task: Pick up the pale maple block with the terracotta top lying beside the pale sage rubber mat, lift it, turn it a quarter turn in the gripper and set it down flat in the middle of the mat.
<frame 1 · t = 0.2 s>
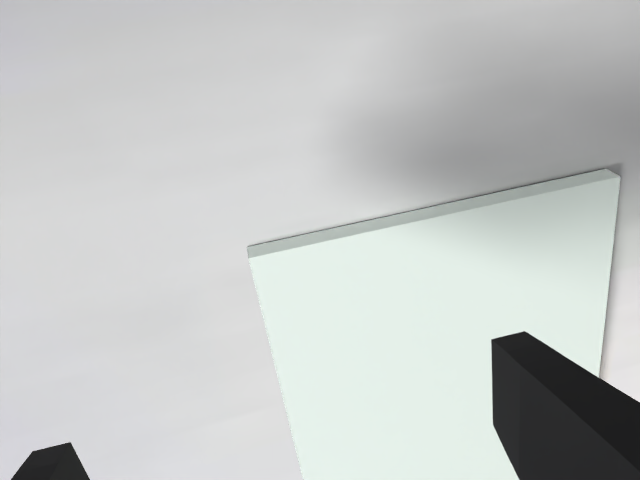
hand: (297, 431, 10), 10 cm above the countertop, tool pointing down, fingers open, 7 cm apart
mat: (442, 370, 23), on the countertop
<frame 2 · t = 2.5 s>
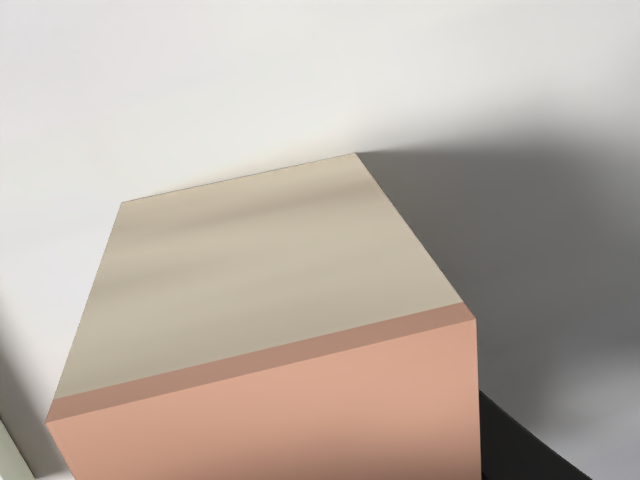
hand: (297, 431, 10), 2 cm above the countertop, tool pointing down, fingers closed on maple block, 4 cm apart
maple block: (284, 360, 11), on the countertop, touching gripper
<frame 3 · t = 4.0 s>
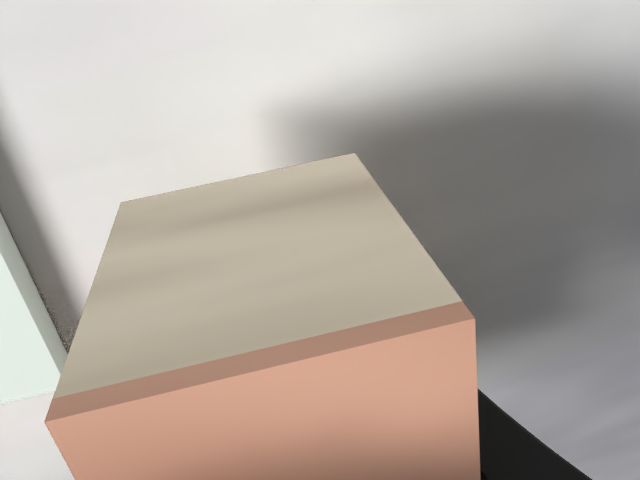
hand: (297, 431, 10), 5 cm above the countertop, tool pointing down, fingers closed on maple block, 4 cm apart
maple block: (283, 359, 11), point 3 cm above the countertop, touching gripper
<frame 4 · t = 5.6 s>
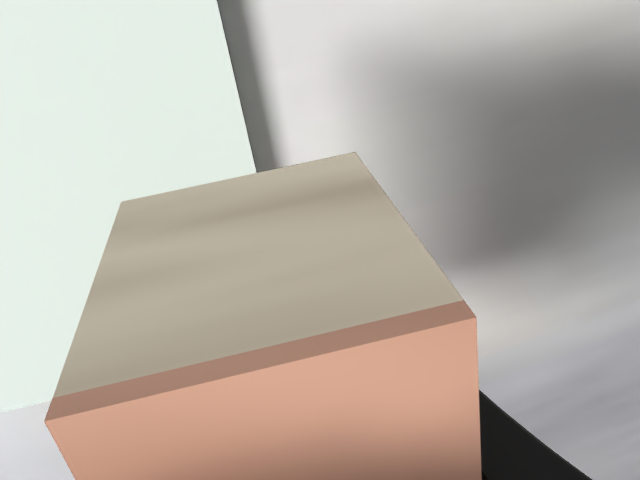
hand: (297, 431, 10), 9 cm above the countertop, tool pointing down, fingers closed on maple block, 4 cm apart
maple block: (284, 359, 11), point 7 cm above the countertop, touching gripper
mat: (10, 166, 16), on the countertop
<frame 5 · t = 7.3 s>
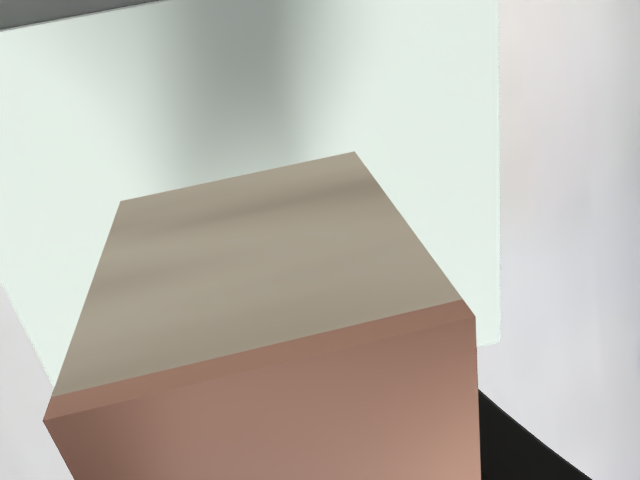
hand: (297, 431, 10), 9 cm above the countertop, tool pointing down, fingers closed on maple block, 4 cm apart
maple block: (283, 358, 11), point 7 cm above the countertop, touching gripper
mat: (257, 218, 18), on the countertop
when the fingers open (4 cm above the countertop, at t = 8.8 s): maple block drops 1 cm, resting on mat.
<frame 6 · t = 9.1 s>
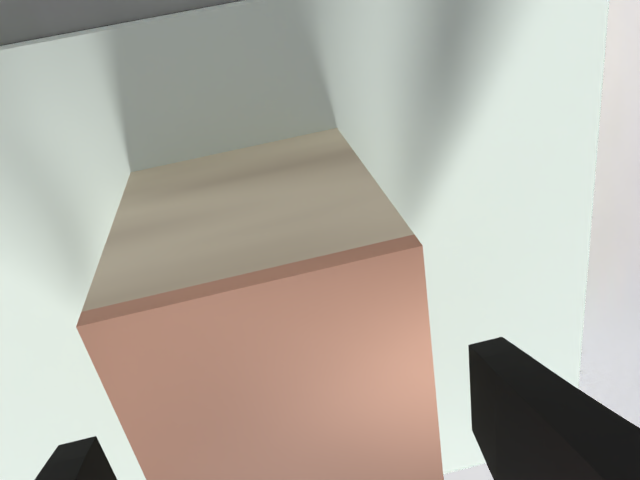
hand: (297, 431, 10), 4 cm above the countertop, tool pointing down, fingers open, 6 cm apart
maple block: (276, 318, 13), point 1 cm above the countertop, touching mat
mat: (273, 299, 13), on the countertop
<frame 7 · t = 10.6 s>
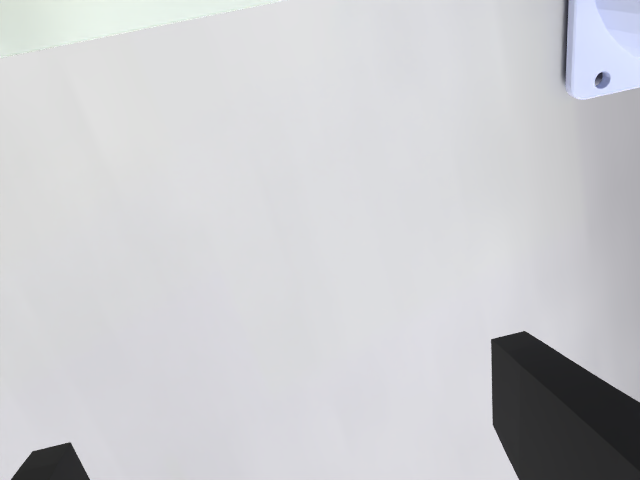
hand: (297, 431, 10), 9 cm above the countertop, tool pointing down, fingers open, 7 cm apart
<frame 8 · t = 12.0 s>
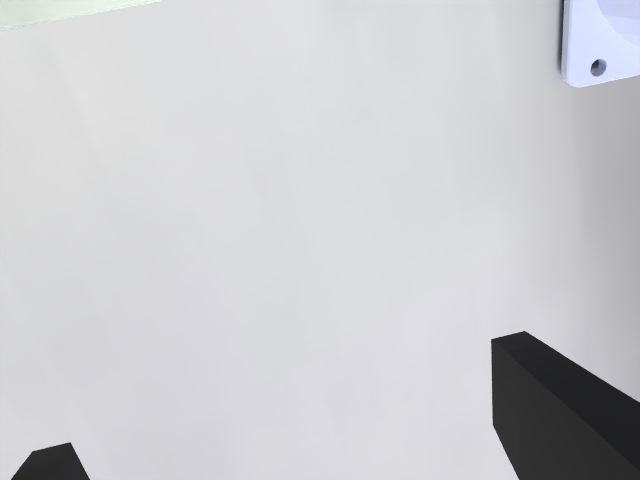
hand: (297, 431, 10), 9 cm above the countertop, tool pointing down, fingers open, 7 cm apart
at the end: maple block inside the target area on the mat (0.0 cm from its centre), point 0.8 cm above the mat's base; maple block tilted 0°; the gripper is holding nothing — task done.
